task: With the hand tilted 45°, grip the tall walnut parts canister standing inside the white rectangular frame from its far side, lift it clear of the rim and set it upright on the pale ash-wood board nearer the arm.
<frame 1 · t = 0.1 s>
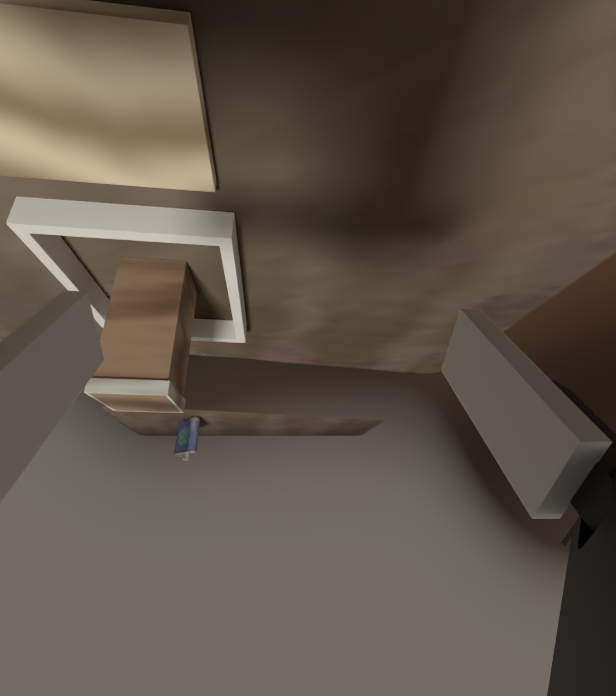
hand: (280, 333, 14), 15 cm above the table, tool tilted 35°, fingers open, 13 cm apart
white rectangular frame: (161, 277, 38), on the table
board: (80, 102, 22), on the table
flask: (190, 418, 101), on the table
canister: (150, 335, 36), in the white rectangular frame
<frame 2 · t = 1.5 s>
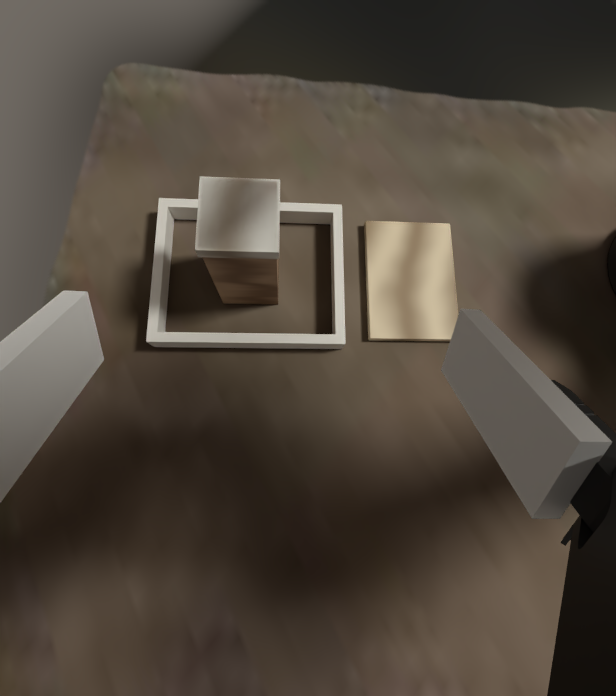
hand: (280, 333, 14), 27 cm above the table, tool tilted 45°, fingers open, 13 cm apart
white rectangular frame: (251, 278, 43), on the table
board: (408, 281, 44), on the table
canister: (246, 251, 36), in the white rectangular frame
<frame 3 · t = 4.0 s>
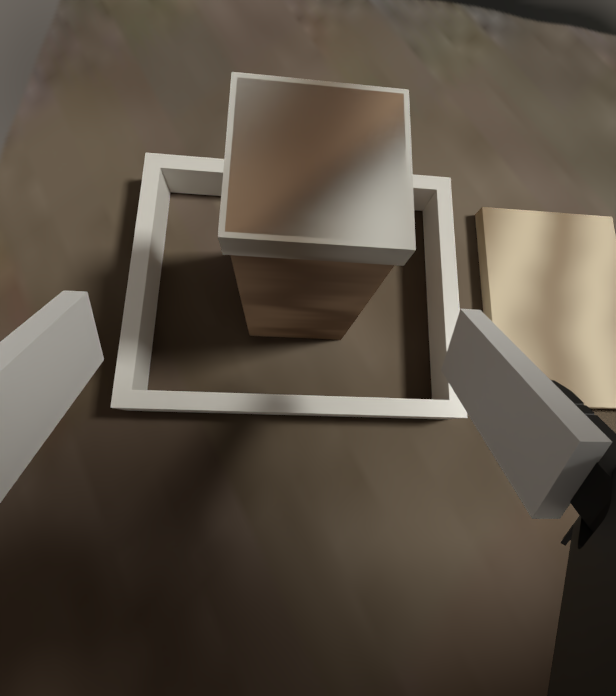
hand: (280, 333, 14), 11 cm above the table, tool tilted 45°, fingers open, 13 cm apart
white rectangular frame: (297, 294, 25), on the table
board: (549, 308, 27), on the table
canister: (304, 248, 19), in the white rectangular frame
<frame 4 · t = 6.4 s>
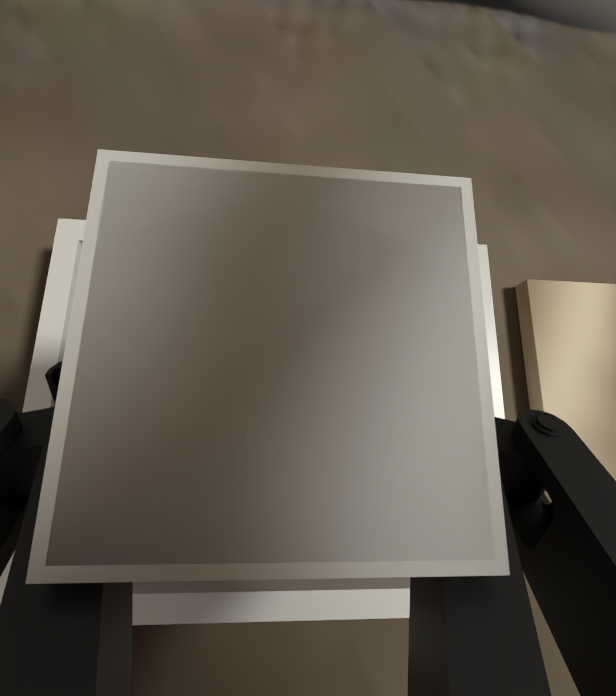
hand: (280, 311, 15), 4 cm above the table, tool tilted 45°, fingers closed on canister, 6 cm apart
white rectangular frame: (276, 408, 18), on the table
canister: (279, 393, 12), in the white rectangular frame, touching gripper
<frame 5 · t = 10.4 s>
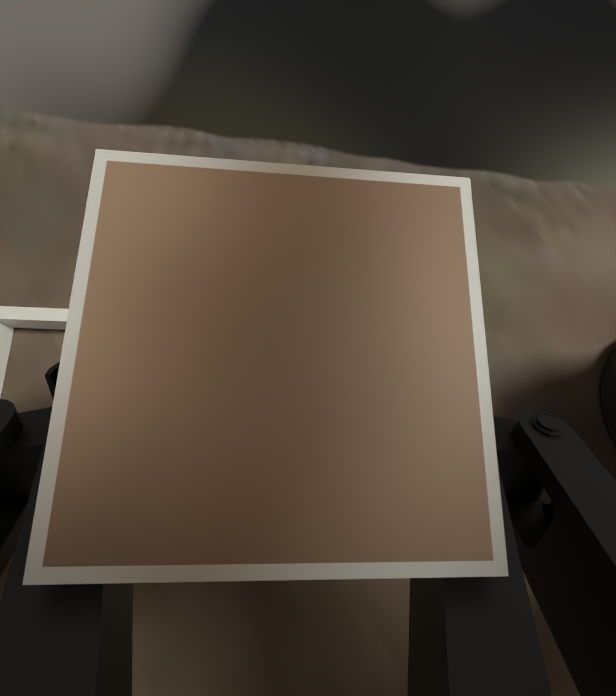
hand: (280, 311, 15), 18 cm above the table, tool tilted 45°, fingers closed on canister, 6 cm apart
white rectangular frame: (118, 416, 30), on the table
canister: (278, 393, 12), point 20 cm above the table, touching gripper
when the fingers open (6 cm above the table, at t = 14.2 s): canister stays where it is, resting on board.
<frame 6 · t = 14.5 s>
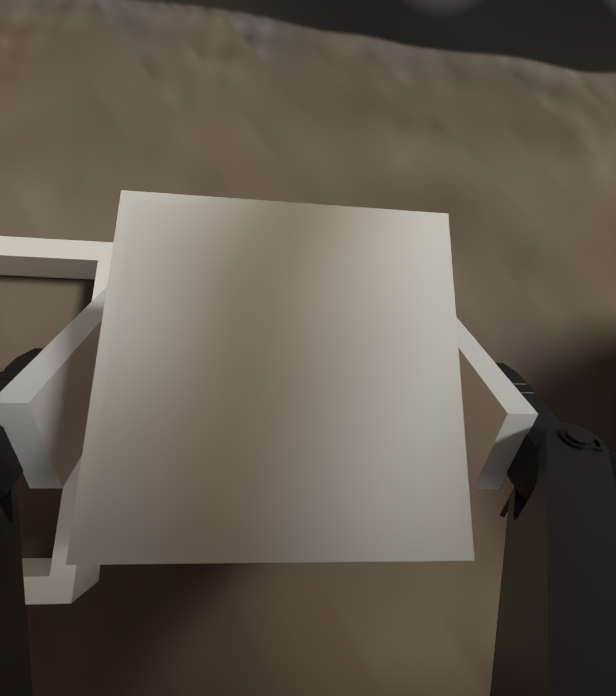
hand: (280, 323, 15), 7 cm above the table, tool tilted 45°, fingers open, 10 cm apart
canister: (278, 398, 13), on the board, point 8 cm above the table
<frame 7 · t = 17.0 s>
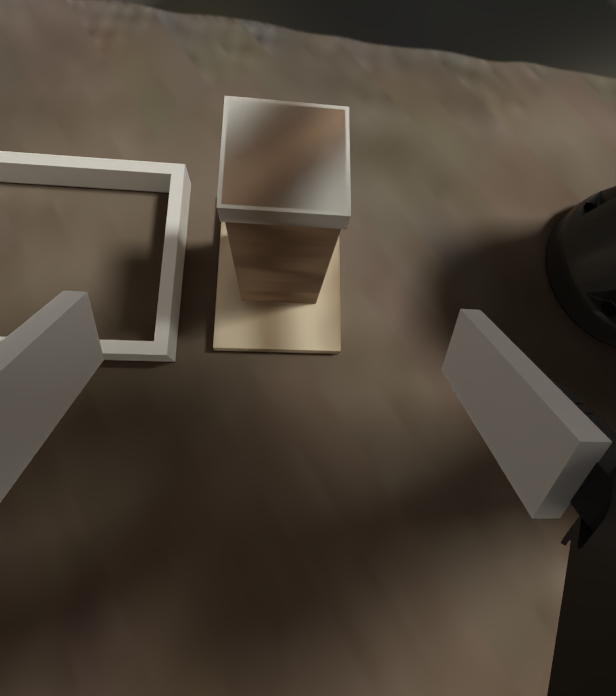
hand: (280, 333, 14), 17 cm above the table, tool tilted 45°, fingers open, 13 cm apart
white rectangular frame: (57, 261, 31), on the table
board: (279, 272, 32), on the table
canister: (282, 225, 25), on the board, point 8 cm above the table
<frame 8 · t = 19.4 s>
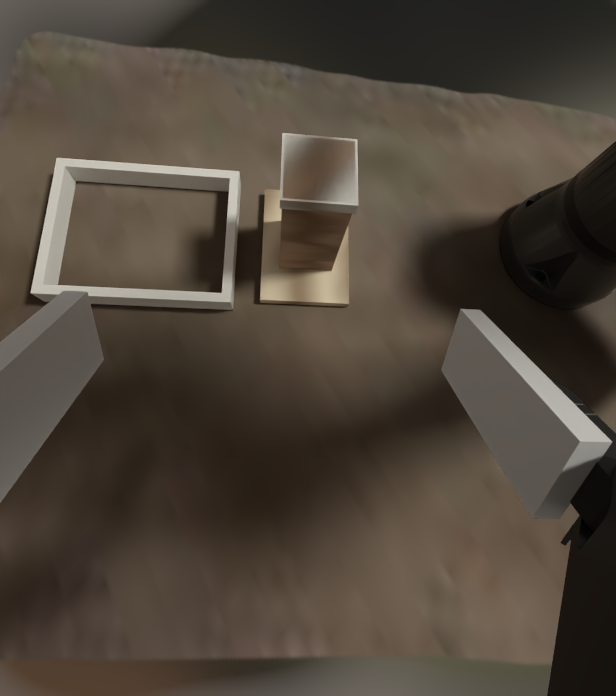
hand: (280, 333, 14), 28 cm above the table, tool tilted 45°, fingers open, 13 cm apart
white rectangular frame: (148, 239, 44), on the table
board: (305, 249, 45), on the table
canister: (311, 213, 38), on the board, point 8 cm above the table
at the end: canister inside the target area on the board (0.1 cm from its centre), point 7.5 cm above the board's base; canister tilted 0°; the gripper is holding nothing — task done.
